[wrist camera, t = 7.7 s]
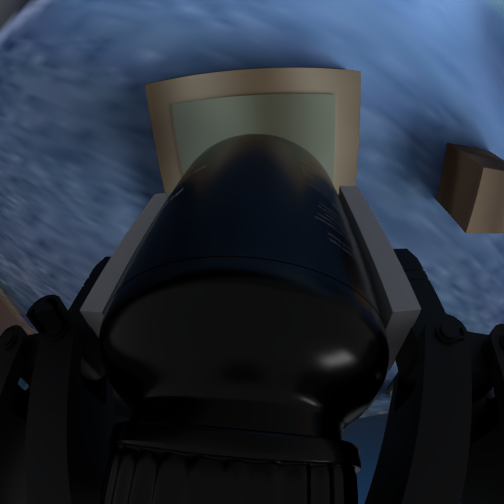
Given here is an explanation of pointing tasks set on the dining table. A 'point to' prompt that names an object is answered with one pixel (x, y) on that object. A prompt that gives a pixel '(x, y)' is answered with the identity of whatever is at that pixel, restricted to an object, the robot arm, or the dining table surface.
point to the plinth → (258, 115)
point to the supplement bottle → (243, 338)
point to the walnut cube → (473, 189)
